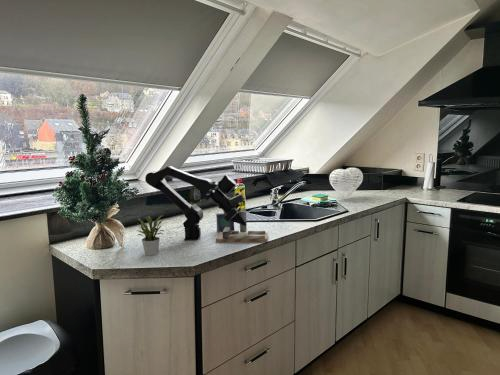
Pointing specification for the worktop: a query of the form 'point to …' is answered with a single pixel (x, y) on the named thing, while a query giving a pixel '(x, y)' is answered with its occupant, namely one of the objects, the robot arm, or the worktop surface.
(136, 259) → the worktop surface
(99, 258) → the worktop surface
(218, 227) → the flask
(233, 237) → the bench
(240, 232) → the handle
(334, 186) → the heart
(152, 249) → the house plant
